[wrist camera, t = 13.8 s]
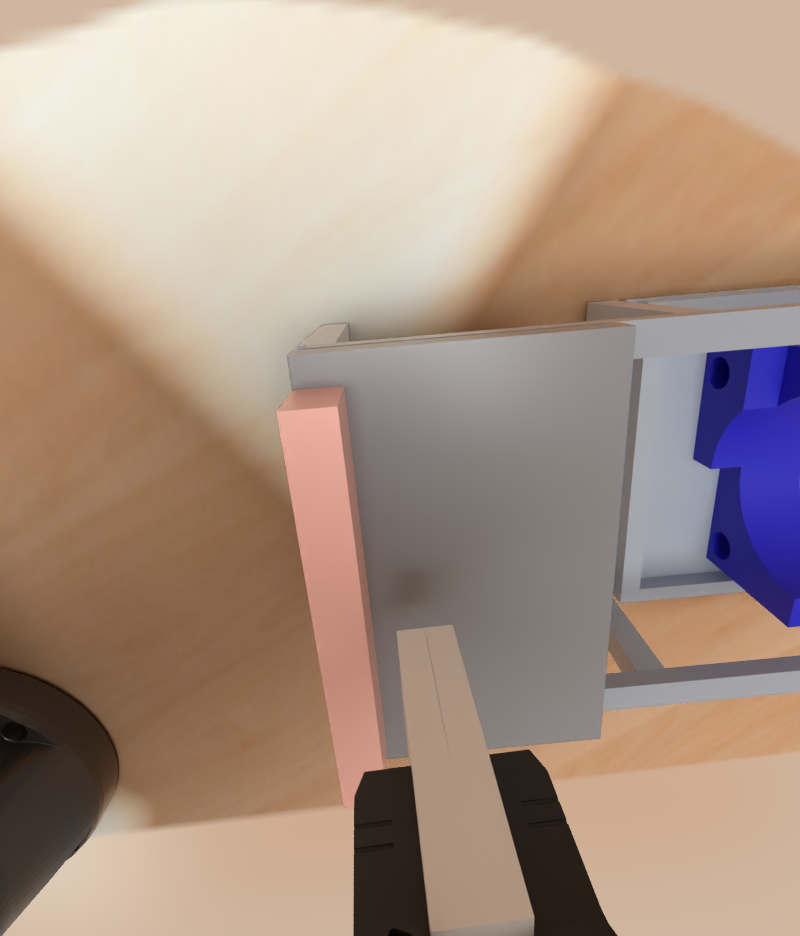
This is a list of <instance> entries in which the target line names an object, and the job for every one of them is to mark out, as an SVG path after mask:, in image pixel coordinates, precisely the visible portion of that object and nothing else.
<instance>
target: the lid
mask: <svg viewBox="0 0 800 936" xmlns="http://www.w3.org/2000/svg"><path fill="white" fill-rule="evenodd" d="M635 336H636V325H631V324H626V323H610V324H598V325H586V326H575V327H563V328H551V329H540V330H528V331H516V332H505V333H493V334H481V335H469V336H458V337H446V338H434V339H423V340H411V341H399V342H388V343H376V344H364V345H353V346H341V347H329V348H318V349H306V350H294V351H292V352H290V353H289V354H288V355H287V359H288V366H289V372H290V378H291V385H292V391H291V393H290V394H289V395H288V397H287V398H286V399H285V401H284V402H283V403H282V405H281V406H280V407H279V409H278V410H277V411H276V413H277V419H278V425H279V431H280V437H281V443H282V448H283V454H284V460H285V466H286V472H287V478H288V483H289V489H290V495H291V501H292V507H293V513H294V518H295V524H296V530H297V536H298V542H299V548H300V553H301V559H302V565H303V571H304V577H305V583H306V588H307V594H308V600H309V606H310V612H311V618H312V624H313V629H314V635H315V641H316V647H317V653H318V659H319V664H320V670H321V676H322V682H323V688H324V694H325V699H326V705H327V711H328V717H329V723H330V729H331V734H332V740H333V746H334V752H335V758H336V764H337V769H338V775H339V781H340V787H341V793H342V799H343V804H344V807H352V806H354V796H355V794H356V791H357V789H358V786H359V784H360V781H361V779H362V776H363V774H364V772H367V771H375V770H382V769H387V759H393V758H404V757H409V754H408V745H407V735H406V726H405V717H404V708H403V697H402V686H401V675H400V664H399V653H398V642H397V631H400V630H408V629H417V628H426V627H435V626H444V625H453V628H454V631H455V635H456V638H457V642H458V646H459V649H460V653H461V656H462V660H463V664H464V667H465V671H466V674H467V678H468V681H469V685H470V689H471V692H472V696H473V699H474V703H475V706H476V710H477V714H478V717H479V721H480V724H481V728H482V732H483V735H484V739H485V742H486V746H487V749H498V748H508V747H519V746H529V745H540V744H550V743H561V742H571V741H582V740H592V739H600V737H601V725H602V714H603V702H604V691H605V680H606V668H607V657H608V645H609V634H610V622H611V611H612V599H613V588H614V576H615V565H616V554H617V542H618V531H619V519H620V508H621V496H622V485H623V473H624V462H625V450H626V439H627V428H628V416H629V405H630V393H631V382H632V370H633V359H634V347H635Z"/></svg>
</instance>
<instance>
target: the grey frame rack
mask: <svg viewBox="0 0 800 936" xmlns="http://www.w3.org/2000/svg"><path fill="white" fill-rule="evenodd" d="M610 323H626V324H631V325H636V336H635V347H634V359H633V370H632V382H631V393H630V405H629V416H628V428H627V439H626V450H625V462H624V473H623V485H622V496H621V508H620V519H619V531H618V542H617V554H616V565H615V576H614V588H613V594H614V596H615V597H616V598H617V600H618V601H619V602H620V603H629V602H640V601H651V600H662V599H673V598H683V597H694V596H705V595H716V594H727V593H738V592H746V591H745V590H744V589H743V588H741V587H740V586H739V585H738V584H737V583H736V582H734V581H733V580H732V579H731V578H730V577H729V576H727V575H726V574H725V573H724V572H723V571H722V570H720V569H719V568H718V567H717V566H716V565H714V564H713V563H712V562H711V561H710V560H709V559H707V558H706V554H707V548H708V542H709V535H710V529H711V522H712V516H713V509H714V503H715V497H716V490H717V484H718V477H719V471H720V469H709V468H708V467H706V466H704V465H702V464H701V463H699V462H697V461H695V460H694V459H693V455H694V448H695V440H696V433H697V425H698V418H699V410H700V403H701V396H702V388H703V381H704V373H705V366H706V358H707V353H708V352H720V351H732V350H743V349H755V348H766V347H778V346H789V345H800V284H799V285H787V286H775V287H764V288H752V289H740V290H728V291H717V292H705V293H693V294H681V295H670V296H658V297H646V298H634V299H623V300H621V301H614V300H611V301H599V302H587V312H586V321H584V322H573V323H561V324H549V325H538V326H526V327H514V328H503V329H491V330H479V331H467V332H456V333H444V334H432V335H421V336H409V337H397V338H386V339H374V340H362V341H351V342H350V338H349V329H348V323H341V324H329V325H322V326H320V327H319V328H318V329H317V330H316V331H315V332H313V333H312V334H311V335H310V336H309V337H308V338H307V339H305V340H304V341H303V342H302V343H301V344H300V345H298V350H306V349H318V348H329V347H341V346H353V345H364V344H376V343H388V342H399V341H411V340H423V339H434V338H446V337H458V336H469V335H481V334H493V333H505V332H516V331H528V330H540V329H551V328H563V327H575V326H586V325H598V324H610ZM608 650H609V652H610V654H611V655H612V657H613V658H614V660H615V662H616V663H617V665H618V666H619V668H620V670H621V671H622V672H621V673H611V674H606V680H605V691H604V702H603V711H607V710H618V709H628V708H639V707H649V706H660V705H670V704H681V703H692V702H702V701H713V700H723V699H734V698H744V697H755V696H765V695H776V694H786V693H797V692H800V656H791V657H781V658H770V659H759V660H749V661H738V662H728V663H717V664H706V665H696V666H685V667H674V668H664V667H663V665H662V664H661V663H660V661H659V660H658V659H657V657H656V656H655V655H654V653H653V652H652V651H651V649H650V648H649V646H648V645H647V644H646V642H645V641H644V640H643V638H642V637H641V636H640V634H639V633H638V631H637V630H636V629H635V627H634V626H633V625H632V623H631V622H630V621H629V619H628V618H627V617H626V615H625V614H624V612H623V611H622V610H621V608H620V607H619V606H618V604H617V603H616V602H615V600H614V599H612V611H611V622H610V634H609V645H608Z"/></svg>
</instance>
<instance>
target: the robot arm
mask: <svg viewBox="0 0 800 936" xmlns="http://www.w3.org/2000/svg"><path fill="white" fill-rule="evenodd" d="M397 642H398V653H399V664H400V675H401V686H402V697H403V708H404V717H405V726H406V735H407V745H408V754H409V763H410V766H406V767H398V768H390V769H382V770H375V771H367V772H364V774H363V776H362V779H361V781H360V784H359V786H358V789H357V791H356V794H355V796H354V936H617V935H616V933H615V932H614V930H613V929H612V928H611V926H610V925H609V924H608V922H607V920H606V918H605V916H604V914H603V912H602V910H601V907H600V905H599V902H598V899H597V897H596V895H595V892H594V889H593V887H592V884H591V882H590V879H589V876H588V874H587V871H586V869H585V866H584V864H583V861H582V858H581V856H580V853H579V851H578V848H577V846H576V843H575V840H574V838H573V835H572V833H571V830H570V828H569V825H568V824H567V822H566V817H565V815H564V812H563V810H562V807H561V805H560V802H559V801H558V798H557V794H556V792H555V789H554V787H553V784H552V781H551V779H550V776H549V774H548V771H547V770H546V768H545V767H544V766H543V765H542V764H541V763H540V762H539V760H538V759H537V758H536V757H535V756H534V755H533V754H532V752H531V751H530V750H522V751H514V752H506V753H498V754H490V755H489V753H488V749H487V746H486V742H485V739H484V735H483V732H482V728H481V724H480V721H479V717H478V714H477V710H476V706H475V703H474V699H473V696H472V692H471V689H470V685H469V681H468V678H467V674H466V671H465V667H464V664H463V660H462V656H461V653H460V649H459V646H458V642H457V638H456V635H455V631H454V628H453V625H444V626H435V627H426V628H417V629H408V630H400V631H397ZM117 779H118V765H117V759H116V755H115V752H114V749H113V746H112V744H111V742H110V740H109V738H108V736H107V735H106V733H105V732H104V730H103V729H102V727H101V726H100V725H99V724H98V722H97V721H96V720H95V719H94V718H93V717H92V716H91V715H90V714H89V713H88V712H87V711H86V710H85V709H84V708H83V707H81V706H80V705H79V704H78V703H76V702H75V701H74V700H72V699H71V698H70V697H68V696H67V695H65V694H64V693H62V692H60V691H58V690H57V689H55V688H53V687H51V686H49V685H47V684H45V683H43V682H41V681H38V680H36V679H33V678H31V677H28V676H25V675H22V674H19V673H16V672H12V671H9V670H4V669H0V936H2V935H3V934H4V932H5V931H6V930H7V928H9V926H10V925H11V924H12V923H13V922H14V921H15V920H16V918H17V917H18V916H19V915H20V914H21V913H22V912H23V910H24V909H25V908H26V907H27V906H28V905H29V904H30V902H31V901H32V900H33V899H34V898H35V897H36V895H37V894H38V893H39V892H40V891H41V890H42V889H43V887H44V886H45V885H46V884H47V883H48V882H49V880H50V879H51V878H52V877H53V875H54V874H55V873H56V872H57V871H58V869H59V868H60V867H61V866H62V865H63V863H64V862H65V861H66V860H67V859H69V858H70V857H72V856H73V855H74V854H75V852H77V851H78V850H79V849H80V847H82V846H83V844H84V843H85V842H86V841H87V840H88V839H89V837H90V836H91V834H92V833H93V832H94V830H95V828H96V827H97V825H98V823H99V821H100V819H101V817H102V815H103V813H104V811H105V810H106V808H107V806H108V804H109V802H110V800H111V798H112V796H113V794H114V791H115V788H116V784H117Z"/></svg>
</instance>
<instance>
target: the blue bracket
mask: <svg viewBox="0 0 800 936" xmlns="http://www.w3.org/2000/svg"><path fill="white" fill-rule="evenodd" d="M693 459H694V460H695V461H697V462H699V463H701V464H702V465H704V466H706V467H708V468H709V469H720V471H719V477H718V484H717V490H716V497H715V503H714V509H713V516H712V522H711V529H710V535H709V542H708V548H707V554H706V558H707V559H709V560H710V561H711V562H712V563H713V564H714V565H716V566H717V567H718V568H719V569H720V570H722V571H723V572H724V573H725V574H726V575H727V576H729V577H730V578H731V579H732V580H733V581H734V582H736V583H737V584H738V585H739V586H740V587H741V588H743V589H744V590H745V591H746V592H747V593H748V594H750V595H751V596H752V597H753V598H754V599H756V600H757V601H758V602H759V603H760V604H761V605H763V606H764V607H765V608H766V609H767V610H768V611H770V612H771V613H772V614H773V615H774V616H775V617H777V618H778V619H779V620H780V621H781V622H783V623H784V624H785V625H786V626H787V627H796V626H800V345H789V346H778V347H766V348H755V349H743V350H732V351H720V352H708V353H707V358H706V366H705V373H704V381H703V388H702V396H701V403H700V410H699V418H698V425H697V433H696V440H695V448H694V455H693Z"/></svg>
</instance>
